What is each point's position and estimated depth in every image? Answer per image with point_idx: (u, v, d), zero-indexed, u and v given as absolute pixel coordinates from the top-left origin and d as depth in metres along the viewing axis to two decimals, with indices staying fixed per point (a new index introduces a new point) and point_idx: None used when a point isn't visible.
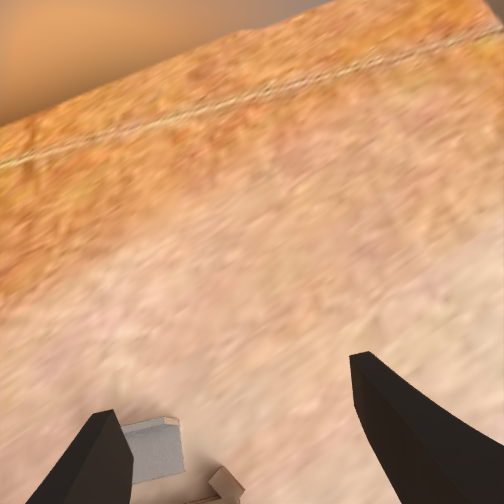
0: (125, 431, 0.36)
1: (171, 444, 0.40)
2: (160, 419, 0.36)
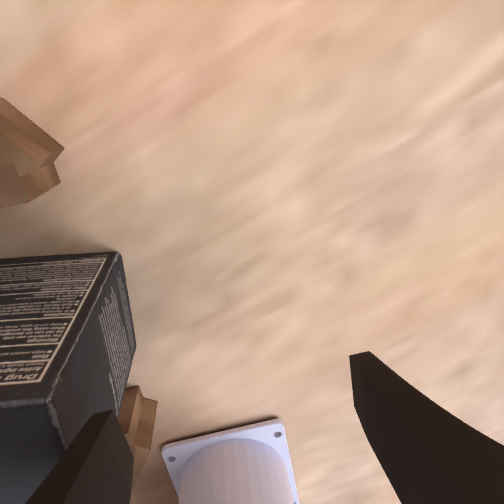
0: None
1: None
2: None
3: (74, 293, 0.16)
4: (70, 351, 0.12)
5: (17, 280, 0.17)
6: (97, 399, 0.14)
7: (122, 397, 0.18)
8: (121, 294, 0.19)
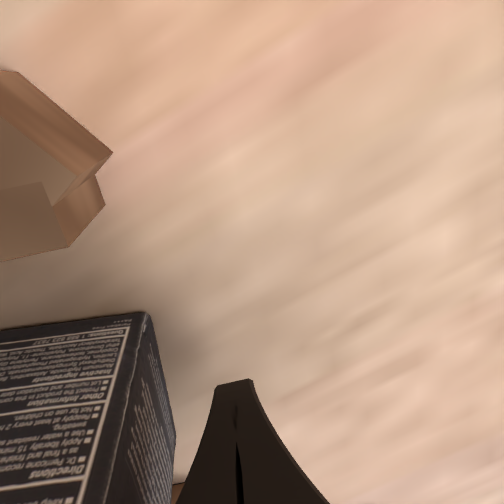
0: None
1: None
2: None
3: (82, 410, 0.09)
4: None
5: None
6: None
7: None
8: (154, 377, 0.13)
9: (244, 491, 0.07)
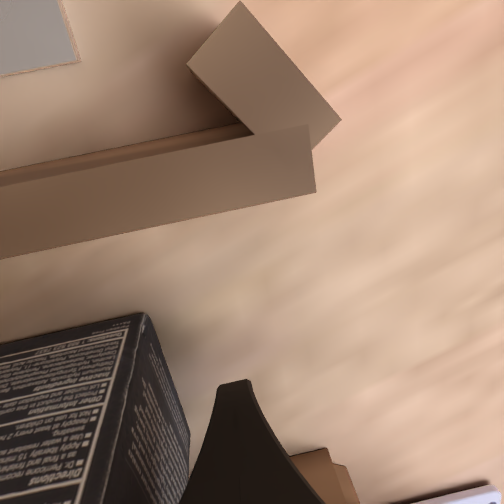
0: None
1: None
2: None
3: (81, 414, 0.09)
4: None
5: None
6: None
7: None
8: (159, 376, 0.13)
9: (241, 492, 0.07)
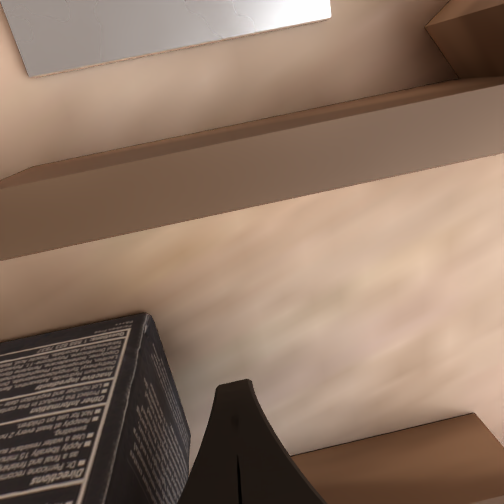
0: None
1: None
2: None
3: (83, 413, 0.09)
4: None
5: None
6: None
7: None
8: (160, 377, 0.13)
9: (242, 491, 0.07)
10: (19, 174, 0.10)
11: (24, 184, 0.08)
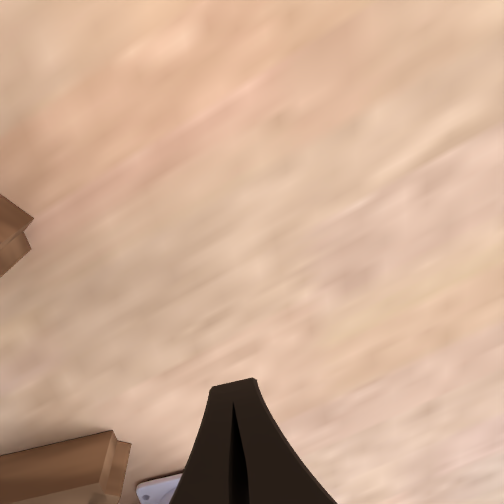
0: None
1: None
2: None
3: None
4: None
5: None
6: None
7: None
8: None
9: (250, 490, 0.07)
10: None
11: None
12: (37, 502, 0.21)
